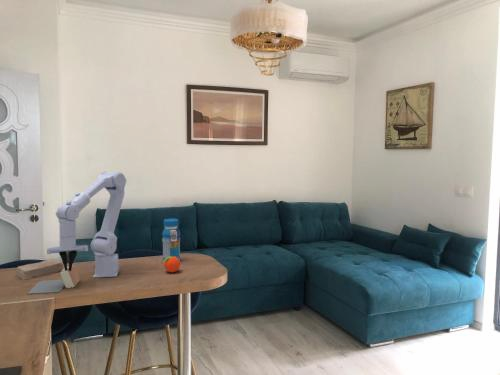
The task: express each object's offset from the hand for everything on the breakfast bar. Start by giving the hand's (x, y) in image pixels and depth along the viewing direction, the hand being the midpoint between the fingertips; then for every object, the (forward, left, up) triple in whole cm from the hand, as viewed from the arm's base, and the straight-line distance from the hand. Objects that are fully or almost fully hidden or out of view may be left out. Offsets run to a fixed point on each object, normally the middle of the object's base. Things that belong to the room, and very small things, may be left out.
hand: (67, 270), depth 162 cm
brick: (+16, -20, -7) cm, 26 cm away
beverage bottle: (-39, -31, -7) cm, 51 cm away
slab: (-1, -2, -7) cm, 7 cm away
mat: (+7, 0, -6) cm, 10 cm away
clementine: (-39, -12, -7) cm, 42 cm away
